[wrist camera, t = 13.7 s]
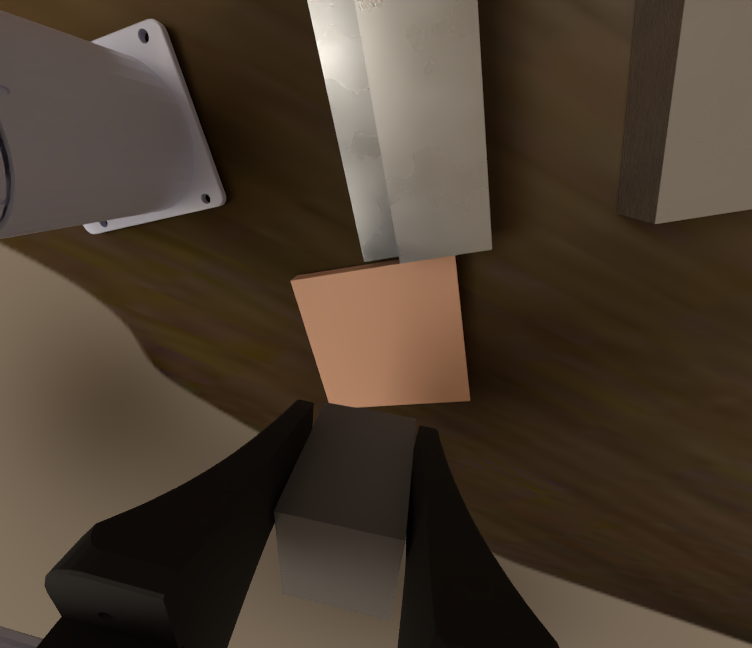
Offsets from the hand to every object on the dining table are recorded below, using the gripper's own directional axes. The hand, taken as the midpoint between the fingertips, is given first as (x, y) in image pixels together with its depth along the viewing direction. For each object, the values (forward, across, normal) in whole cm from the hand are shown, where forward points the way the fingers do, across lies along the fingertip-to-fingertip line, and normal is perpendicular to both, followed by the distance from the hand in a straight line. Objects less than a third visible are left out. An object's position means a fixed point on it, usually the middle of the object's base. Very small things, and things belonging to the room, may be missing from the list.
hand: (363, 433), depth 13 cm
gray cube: (+2, 0, +3) cm, 3 cm away
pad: (+8, 0, 0) cm, 8 cm away
